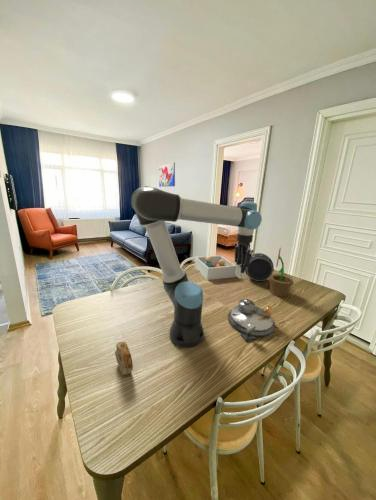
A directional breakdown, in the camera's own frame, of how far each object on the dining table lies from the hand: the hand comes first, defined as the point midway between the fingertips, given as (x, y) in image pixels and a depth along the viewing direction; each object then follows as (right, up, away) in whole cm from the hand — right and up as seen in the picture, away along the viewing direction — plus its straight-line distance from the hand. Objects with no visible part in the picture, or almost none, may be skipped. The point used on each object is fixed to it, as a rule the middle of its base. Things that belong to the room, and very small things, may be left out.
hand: (239, 276), depth 111 cm
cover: (+2, -17, -4) cm, 17 cm away
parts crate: (-7, -3, +52) cm, 53 cm away
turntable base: (+4, -22, -7) cm, 23 cm away
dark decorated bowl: (+23, -8, +43) cm, 49 cm away
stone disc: (-50, -28, -37) cm, 68 cm away
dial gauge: (-1, -25, -18) cm, 31 cm away
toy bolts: (-7, -3, +53) cm, 53 cm away
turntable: (+4, -20, -8) cm, 21 cm away
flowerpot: (+31, -14, +24) cm, 42 cm away
